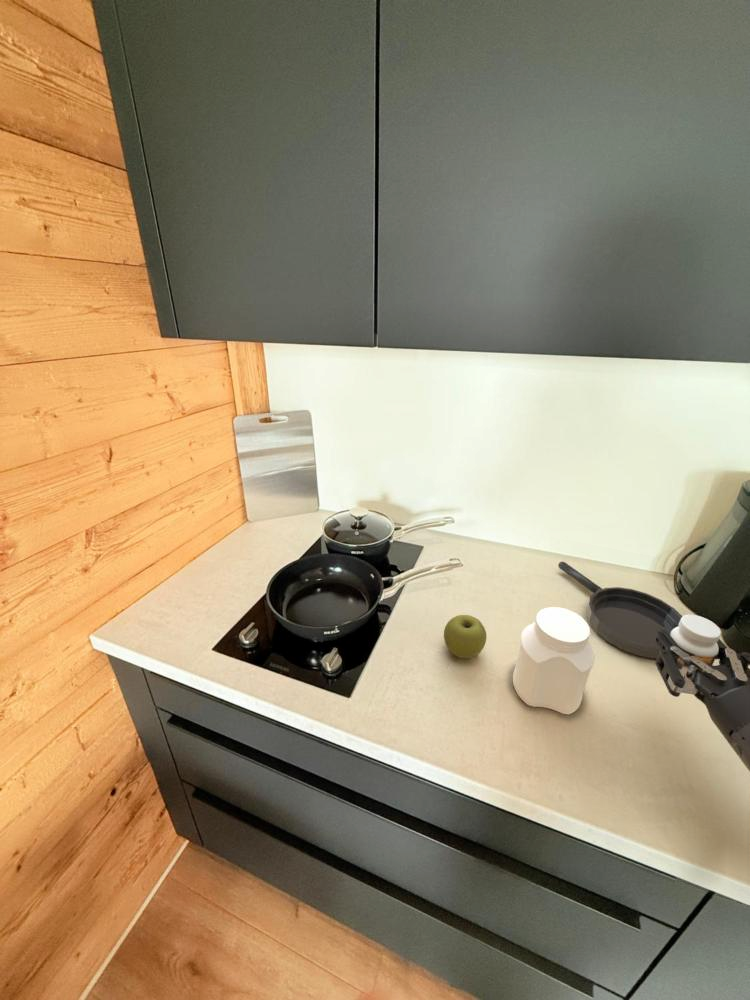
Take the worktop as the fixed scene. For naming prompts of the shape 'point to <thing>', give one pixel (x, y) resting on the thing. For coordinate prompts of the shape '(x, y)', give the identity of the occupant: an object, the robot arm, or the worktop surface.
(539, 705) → the jar
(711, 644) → the pill bottle
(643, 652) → the pan
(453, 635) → the apple
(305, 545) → the worktop surface
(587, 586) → the pan handle
